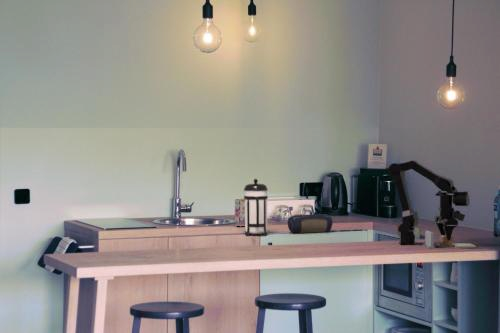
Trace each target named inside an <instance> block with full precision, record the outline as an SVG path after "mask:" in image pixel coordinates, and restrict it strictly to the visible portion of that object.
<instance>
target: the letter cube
mask: <svg viewBox="0 0 500 333" xmlns="http://www.w3.org/2000/svg"><path fill="white" fill-rule="evenodd" d="M453 244H454V236H452V235H451V238H450V240H447V237H446V234H445V235H441V234H440V235H439V247H441V248H453V247H454V246H453Z"/></svg>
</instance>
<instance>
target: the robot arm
mask: <svg viewBox="0 0 500 333" xmlns="http://www.w3.org/2000/svg"><path fill="white" fill-rule="evenodd" d="M410 170H413V171H414V172H416V173H418V174H419V175H421V176H422V177H424V178H425V179H428V180H429V181H430V182H432V183H433V184H434V185H435V186H436V187H437V188H438V191H437V193H435V196H436V197H439V207H438V210H439V215H436V216H434V222H435V224H436V226H437V229H438V232H439V234H440V236H441V235H446V237H447V240H450V238H451V236H452V234H453V231H454V230H455V228H456V227H458V226H459V221H460V222H463V221H464V219H465V217H466V214H463V213H461V211H460V210H455V208H454V207H453V205H454V206H455V207H469V206H470V196H469V192H468V191H465V190H464V191H458V189H457V188H456V187H455V184H454V181H453V180H452V179H450V178H448V177H446V176H443V175H440V174H438V173H435V172H434V171H432V169H431V170H430V168H427V167H425V166H424V165H423V164H421V163H419V162H418V161H416V160H409V161H406V162H401V163H400V162H394V163H391V164H390V165H389V167H388V173H389V175H390V177H391V179H392V180H393V182H394V183H395V187H396V190H397V194H398V195H397V196H398V197H399V203H400V207H401V211H402V213H401V214H402V216H401V219H402V220H401V221H402V224H401V223H400V224H401V225H400V226H399V227H398V226H397V231H398V230H399V235H398V236H399V238H398V239H399V242H398V244H399V245H401V246H403V245H404V246H405V245H407V244H416V239H415V235H414V229H415V227H416V226H417V227H418V225H419V220H420V218H419V216H418V211H414V210H413V208H412V206H411V200H410V196H409V193H408V190H407V185H406V182H405V176H406V173H405V172H407V171H410ZM407 246H408V245H407Z"/></svg>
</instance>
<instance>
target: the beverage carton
mask: <svg viewBox="0 0 500 333" xmlns="http://www.w3.org/2000/svg"><path fill="white" fill-rule="evenodd" d="M401 224H402V223H397V228H398V227H399V226H400V225H401ZM420 229H421V228H420V227H419V226H418V225H417V226H416V227H415V229H414V235H415V240H416V239H418V240H419V239H421V234H420V233H421V230H420ZM397 235H398V236H399V230H398V229H397Z"/></svg>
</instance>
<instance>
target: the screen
mask: <svg viewBox="0 0 500 333" xmlns="http://www.w3.org/2000/svg"><path fill="white" fill-rule="evenodd" d="M434 236H435V235H434V232H432V231H430V230H424V243H423V246H424V245H426V247H428V249H436V246H435V245H434V240H435V238H434Z"/></svg>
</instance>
